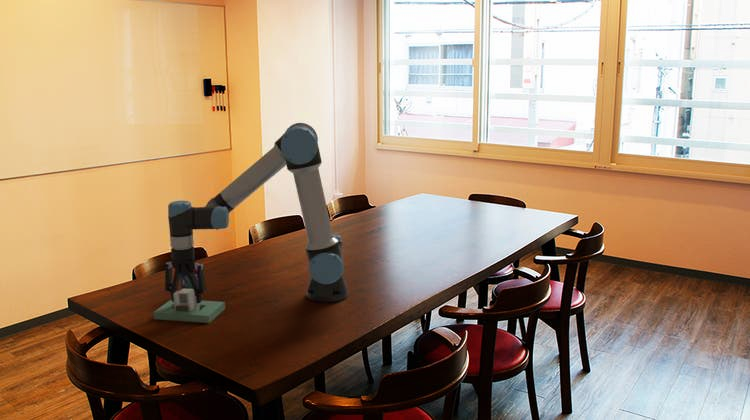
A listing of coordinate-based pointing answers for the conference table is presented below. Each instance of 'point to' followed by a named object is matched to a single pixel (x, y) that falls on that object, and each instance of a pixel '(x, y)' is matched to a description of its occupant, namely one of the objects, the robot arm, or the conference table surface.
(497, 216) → the conference table surface
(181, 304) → the plug
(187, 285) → the beverage can
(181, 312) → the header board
